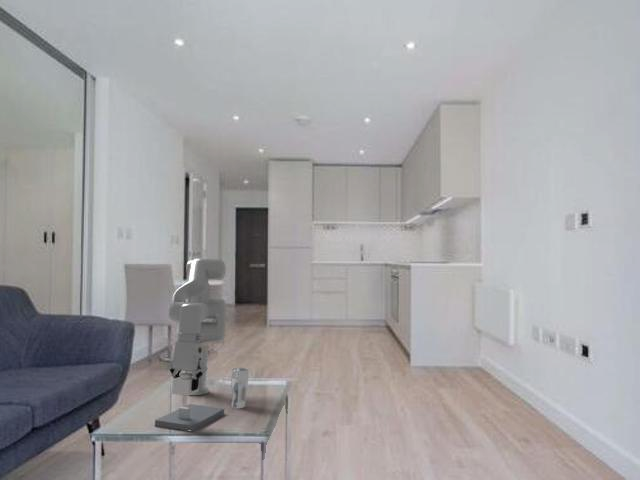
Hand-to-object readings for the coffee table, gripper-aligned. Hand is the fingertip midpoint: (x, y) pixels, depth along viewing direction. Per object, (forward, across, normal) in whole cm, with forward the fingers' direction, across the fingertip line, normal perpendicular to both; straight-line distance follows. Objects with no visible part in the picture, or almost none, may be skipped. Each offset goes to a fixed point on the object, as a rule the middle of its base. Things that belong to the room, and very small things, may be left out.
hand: (185, 388), depth 161 cm
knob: (+1, 0, 0) cm, 1 cm away
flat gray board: (+12, 0, -6) cm, 13 cm away
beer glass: (+12, -8, -28) cm, 31 cm away
